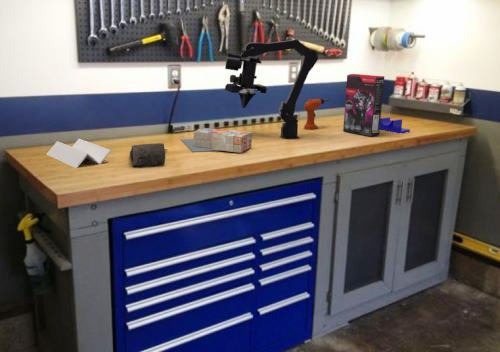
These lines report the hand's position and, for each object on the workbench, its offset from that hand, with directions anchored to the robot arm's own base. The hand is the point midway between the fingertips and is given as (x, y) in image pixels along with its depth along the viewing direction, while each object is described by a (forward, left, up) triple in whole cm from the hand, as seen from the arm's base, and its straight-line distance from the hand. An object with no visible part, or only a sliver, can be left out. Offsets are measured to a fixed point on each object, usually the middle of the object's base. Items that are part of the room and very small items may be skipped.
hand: (243, 107), depth 226 cm
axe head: (+45, +33, -13) cm, 57 cm away
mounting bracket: (-76, -1, -13) cm, 77 cm away
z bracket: (+70, +27, -13) cm, 76 cm away
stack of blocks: (+12, +17, -9) cm, 23 cm away
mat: (+21, +15, -13) cm, 29 cm away
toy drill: (-43, -14, -13) cm, 47 cm away
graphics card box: (-57, +5, -13) cm, 58 cm away
